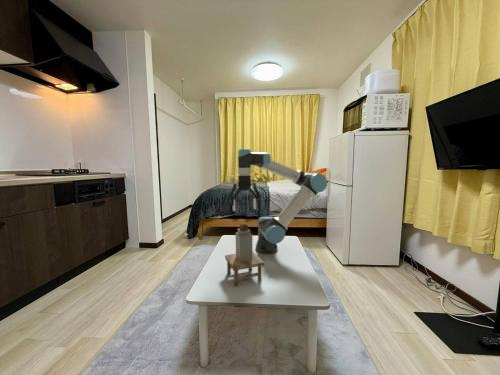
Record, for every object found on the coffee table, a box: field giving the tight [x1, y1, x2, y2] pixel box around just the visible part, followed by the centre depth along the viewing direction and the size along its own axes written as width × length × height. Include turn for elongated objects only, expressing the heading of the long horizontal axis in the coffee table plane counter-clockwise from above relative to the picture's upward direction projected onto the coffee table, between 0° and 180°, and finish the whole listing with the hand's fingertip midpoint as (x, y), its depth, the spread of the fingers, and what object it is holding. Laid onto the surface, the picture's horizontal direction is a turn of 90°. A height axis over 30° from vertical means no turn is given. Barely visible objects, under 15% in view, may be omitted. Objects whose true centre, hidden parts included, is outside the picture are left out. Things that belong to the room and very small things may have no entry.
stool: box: [224, 250, 265, 287], centre depth 116 cm, size 16×16×10 cm
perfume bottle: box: [235, 223, 253, 262], centre depth 114 cm, size 7×7×18 cm
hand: (244, 209), depth 134 cm, fingers open, 13 cm apart
